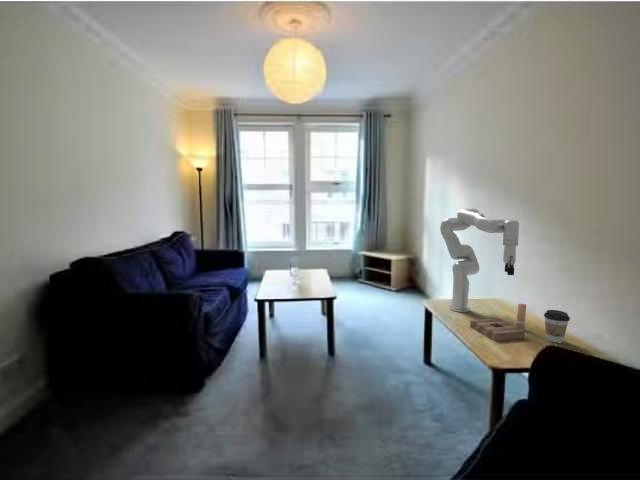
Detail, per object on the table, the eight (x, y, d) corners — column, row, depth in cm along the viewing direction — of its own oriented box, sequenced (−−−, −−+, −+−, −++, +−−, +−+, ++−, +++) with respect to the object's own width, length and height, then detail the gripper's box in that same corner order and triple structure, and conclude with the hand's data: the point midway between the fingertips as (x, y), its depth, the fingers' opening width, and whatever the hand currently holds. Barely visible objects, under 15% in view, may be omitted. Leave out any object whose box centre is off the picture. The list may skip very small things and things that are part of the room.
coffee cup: (540, 341, 194) (543, 313, 192) (542, 335, 204) (545, 307, 202) (567, 347, 188) (570, 317, 186) (567, 339, 197) (570, 311, 195)
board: (470, 327, 214) (470, 320, 213) (497, 324, 218) (498, 318, 217) (494, 340, 194) (494, 333, 194) (524, 338, 199) (524, 330, 198)
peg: (514, 327, 214) (516, 303, 212) (520, 327, 214) (522, 303, 213) (519, 330, 209) (521, 305, 208) (526, 330, 210) (528, 305, 209)
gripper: (500, 241, 220) (499, 270, 221) (505, 244, 203) (504, 275, 205) (515, 241, 217) (514, 271, 219) (521, 244, 201) (519, 276, 202)
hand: (509, 273), depth 212 cm, fingers open, 9 cm apart
